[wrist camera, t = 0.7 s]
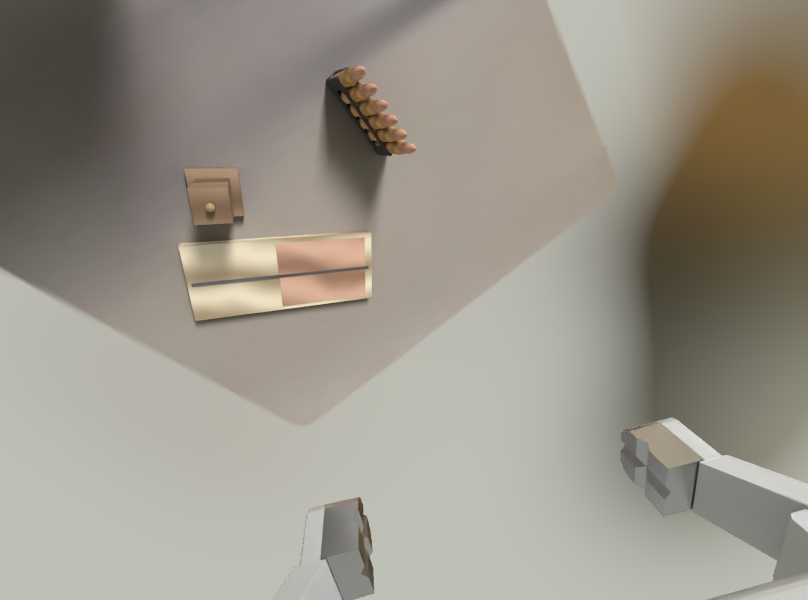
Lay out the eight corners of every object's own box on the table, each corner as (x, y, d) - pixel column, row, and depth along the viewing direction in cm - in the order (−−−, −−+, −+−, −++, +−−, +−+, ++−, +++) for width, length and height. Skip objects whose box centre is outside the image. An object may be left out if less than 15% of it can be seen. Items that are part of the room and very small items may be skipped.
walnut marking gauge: (185, 167, 43) (170, 178, 33) (237, 167, 45) (236, 177, 35) (195, 215, 45) (183, 238, 36) (244, 213, 47) (245, 234, 38)
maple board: (180, 243, 45) (178, 247, 44) (368, 230, 54) (371, 233, 52) (196, 316, 50) (195, 321, 48) (368, 293, 58) (372, 298, 57)
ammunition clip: (388, 146, 50) (426, 150, 40) (378, 155, 50) (413, 162, 40) (336, 70, 45) (365, 53, 34) (325, 80, 44) (350, 66, 34)
